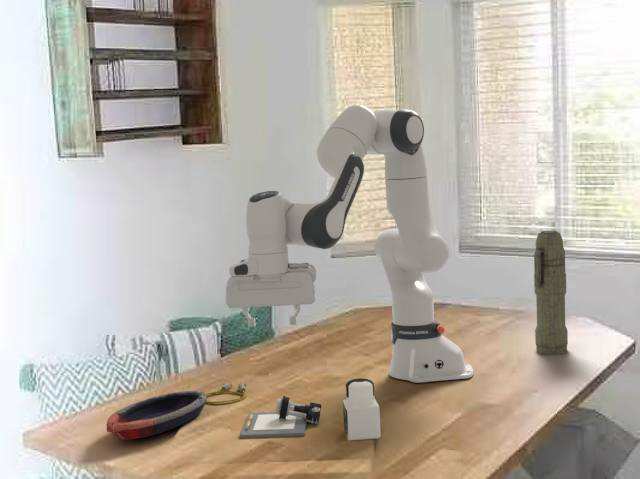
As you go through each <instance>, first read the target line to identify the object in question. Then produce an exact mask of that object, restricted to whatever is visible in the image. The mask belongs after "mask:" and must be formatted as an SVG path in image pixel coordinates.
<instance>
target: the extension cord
mask: <svg viewBox="0 0 640 479" xmlns="http://www.w3.org/2000/svg"><path fill="white" fill-rule="evenodd" d="M232 387H233V383H232V382H231V381H227V382H225V383H223V385H222V386H221V389H219V390H217V391H213V392H212V391H211V392H208V393H205V394H206V395H207V398H208V397H211V396H217V395H218V396H219V395H223V394H232V395H237V396H241V397H239V398H238V397H237V398H235V399H230V400H222V401H209V400H206V402H205V404H208V405H212V406H213V405H215V406H218V405H219V406H221V405H222V406H223V405H229V404H233V403H237V402H241V401H244V400H245V399H247V395H246V393H245V392H246V389H247V384H246V383H239V384H238V386H237V389H238V391H239V392H238V391H233V390H230V389H231V388H232Z"/></svg>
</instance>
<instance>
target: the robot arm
mask: <svg viewBox="0 0 640 479" xmlns="http://www.w3.org/2000/svg"><path fill="white" fill-rule="evenodd" d="M423 122H424V121H423V120H422V118H421V116H419V114H418V113H417V112H416V111H414V110H411V109H404V108H400V109H381V110H377V111H372V110H371V109H369V108H368V107H366V106H363V105H360V104H354V105H350V106H348V107H346V108H345V110H343V111H341V113H340V114H339V115H338V116H337V118H336V119H335V120H334V121H333V122H332V123H331V125H329V127H328V129H327V130H326V132H325V133H324V134H323V136H322V138H321V139H320V141H319V143H318V145H317V149H316V155H317V156H316V157H317V160H318V162H319V165H320V167H321V168H322V169H323V171H324V172H326V173H327V174H328V175H329V176H330V177H332V178H334V180H333V183H332V185H331V187H330V189H329V191H328V194H327V196H326V198H324V199H323V200H321V201H319V202H316V203H300V202H299V203H298V202H297V203H296V202H294V201H291V200H289V199H287V198H286V197H285V196H283V195H282V193H281V192H280V191H278V190H267V191H261V192H258V193H255V194H253V195H252V196H251V197H249V199H248V201H247V205H246V217H245V218H246V220H245V221H246V235H247V237H248V240H249V245H248V258H245V259H242V260H239V261H237V262H234V263H232V264H231V265H230V266H229V275H230V277H229V278H228V279H227V281H226V285H225V286H226V287H225V304H226V306H227V307H228V308H229V309H237V308H240V309H241V310H242V314H243V316H245V319H247V326H248V328H253V327H256V317H252V316H251V315H250V313H249V311H250V309H251V308H259V307H260V308H261V307H276V306H277V307H279V306H280V307H282V306H285V307H286V306H293V308H294V310H295V313H294V314H293V315H290V316H289V324H290V326H297V325H298V315H299V313H300V311H301V310H302V305H313V304H314V303H315V302H316V300H317V293H316V292H317V291H316V286H315V281H316V280H317V270H316V268H315V266H314V265H312V264H311V263H310V264H309V263H308V262H302V263H298V262H297V263H296V262H295V263H294V262H293V263H292V262H291V263H290V262H289V251H288V250H289V247H288V246H296V247H297V246H298V247H311V248H317V249H321V250H329V249H331V248H332V247H334V246H335V245H337V243H338V242H339V241H340V239H341V238H342V236H343V233H344V230H345V226H346V220H347V217H348V215H349V212H350V209H351V207H352V205H353V203H354V200H355V197H356V195H357V193H358V190H359V188H360V186H361V183H362V180H363V176H364V173H365V165H364V161H363V160H364V158H365V156H366V155H383V156H384V158H385V159H384V180H385V182H384V183H385V184H384V185H385V197H386V199H385V200H386V207H387V211H388V212H389V214H390V215H391V216H392V218H393V220H394V223H395V224H396V227H397V228H392V229H388V230H385V231H383V232H382V233H380V235H379V236H378V237H377V239H376V241H375V243H374V252H375V256H376V258H377V259H378V260H379V262H380V263H381V265H382V268H383V270H384V273H385V277H386V279H387V283H388V286H389V290H390V296H391V310H392V311H391V312H392V322H391V323H390V324H391V327H390V336H391V339H390V340H391V343H392V352H391V353H392V354H391V362H390V367H389V372H388V375H389V376H390V377H391V378H395V379H398V380H404V381H408V382H411V383H431V382H439V381H440V382H441V381H449V380H450V381H451V380H461V379H463V380H464V379H469V378H472V377H473V376H474V368H473V366H472V365H471V364H469V363H467V362H465V356H464V353H463V351H462V349H461V348H460V347H459V346H458V345H457V344H455V343H454V342H453V341H451V340H450V339H449V338H447V337H446V336H445V335H443V334H444V333H445V331H446V329H445V326H444V325H443V324H442V323H440V322H439V321H436V320H435V313H434V311H435V310H434V307H435V306H434V294H433V291H432V289H431V288H430V286H429V285H428V283H427V280H426V278H425V275H424V274H431V273H436V272H439V271H441V269H443V268H444V267H445V266H446V264H447V262H448V260H449V255H450V252H449V251H450V250H449V246H448V243H447V241H446V240H445V239H444V238H443V237H442V235H441V234H440V232H439V230H438V227H437V226H436V222H435V220H434V217H433V213H432V211H431V206H430V205H431V204H430V200H429V197H430V196H429V187H428V185H429V184H428V173H427V172H428V170H427V163H426V157H425V152H424V149H423V146H422V142H423V140H424V135H425V125H424V123H423Z"/></svg>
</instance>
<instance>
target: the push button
mask: <svg viewBox="0 0 640 479" xmlns="http://www.w3.org/2000/svg"><path fill="white" fill-rule="evenodd" d="M290 399H291V398H290V397H289V396H286V395H283V396H282V398H277V403H276V408H275V412H276V413H275V414H278V415H279V419H281V418H282V419H286V416H288V415H291V416H296V417H301V418H303V419H307V423H311V424H315V425H318V424H319V423H320V417H321V413H322V412H321V411H322V404H321V403H317V402H316V403H315V402H309V404H300V403H294V402H292V400H290Z"/></svg>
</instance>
